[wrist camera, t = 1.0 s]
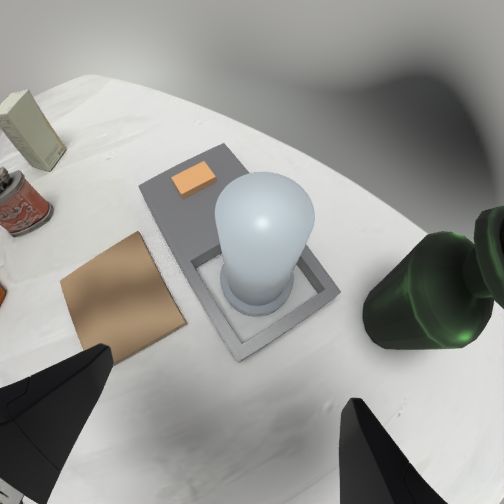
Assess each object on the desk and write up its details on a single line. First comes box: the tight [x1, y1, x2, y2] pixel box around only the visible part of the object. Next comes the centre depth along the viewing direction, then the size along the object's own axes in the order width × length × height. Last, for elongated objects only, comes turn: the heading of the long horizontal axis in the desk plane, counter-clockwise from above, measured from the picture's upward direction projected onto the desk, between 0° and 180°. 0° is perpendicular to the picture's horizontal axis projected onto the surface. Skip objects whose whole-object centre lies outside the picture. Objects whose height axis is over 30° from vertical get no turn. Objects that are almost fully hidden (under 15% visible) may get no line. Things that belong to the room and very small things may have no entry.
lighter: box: [0, 166, 54, 237], centre depth 22 cm, size 8×3×10 cm, turn 107°
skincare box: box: [0, 90, 66, 171], centre depth 25 cm, size 6×4×12 cm
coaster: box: [60, 231, 187, 366], centre depth 23 cm, size 10×10×1 cm
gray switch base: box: [139, 143, 341, 362], centre depth 24 cm, size 19×10×3 cm, turn 33°
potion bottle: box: [363, 206, 504, 350], centre depth 15 cm, size 8×8×18 cm
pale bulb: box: [215, 172, 315, 316], centre depth 19 cm, size 6×6×12 cm
